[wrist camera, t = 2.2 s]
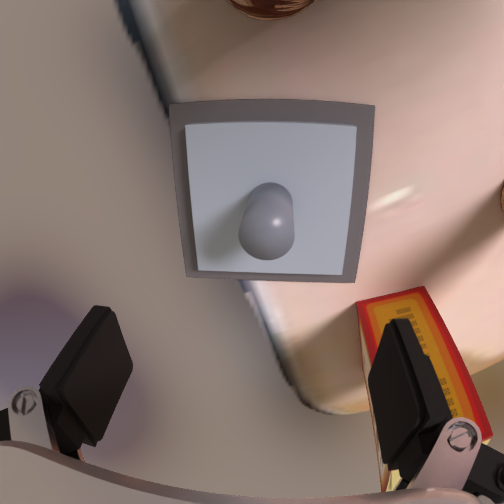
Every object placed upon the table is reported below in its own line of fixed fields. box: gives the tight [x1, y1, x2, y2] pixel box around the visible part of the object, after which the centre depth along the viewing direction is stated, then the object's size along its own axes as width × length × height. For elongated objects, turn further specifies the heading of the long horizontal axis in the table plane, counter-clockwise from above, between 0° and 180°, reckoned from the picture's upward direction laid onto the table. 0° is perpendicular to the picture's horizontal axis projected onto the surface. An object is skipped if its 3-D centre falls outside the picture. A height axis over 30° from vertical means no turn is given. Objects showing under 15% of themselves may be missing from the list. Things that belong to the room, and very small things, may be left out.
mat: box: [169, 99, 375, 283], centre depth 22 cm, size 14×14×1 cm
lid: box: [185, 121, 357, 275], centre depth 19 cm, size 11×11×6 cm
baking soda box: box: [356, 286, 493, 492], centre depth 21 cm, size 10×6×16 cm
